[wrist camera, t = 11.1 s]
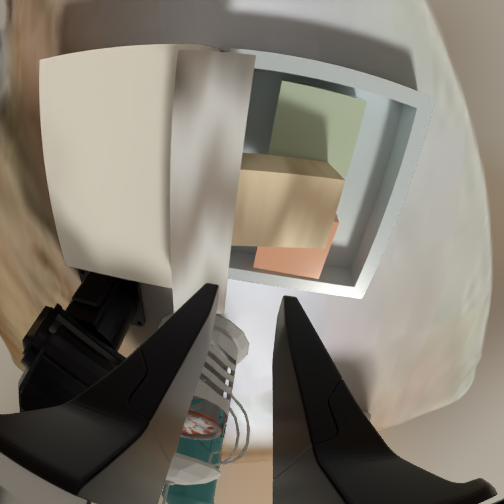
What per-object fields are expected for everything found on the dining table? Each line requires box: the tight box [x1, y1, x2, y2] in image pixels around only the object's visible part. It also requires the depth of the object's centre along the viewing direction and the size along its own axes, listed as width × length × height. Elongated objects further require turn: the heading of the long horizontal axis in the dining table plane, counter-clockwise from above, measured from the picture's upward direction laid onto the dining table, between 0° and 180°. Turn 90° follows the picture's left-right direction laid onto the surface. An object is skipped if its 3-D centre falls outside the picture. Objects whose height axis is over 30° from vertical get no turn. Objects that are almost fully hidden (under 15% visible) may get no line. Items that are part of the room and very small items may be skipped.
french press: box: [157, 312, 250, 504], centre depth 20 cm, size 10×12×25 cm
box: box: [228, 48, 435, 299], centre depth 18 cm, size 15×12×2 cm
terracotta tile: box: [253, 214, 339, 279], centre depth 20 cm, size 4×4×2 cm
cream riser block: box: [39, 44, 220, 289], centre depth 17 cm, size 15×10×4 cm, turn 172°
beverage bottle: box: [162, 399, 227, 504], centre depth 30 cm, size 6×7×20 cm
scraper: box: [170, 50, 345, 314], centre depth 15 cm, size 14×2×8 cm
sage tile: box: [268, 79, 367, 177], centre depth 16 cm, size 4×4×2 cm
